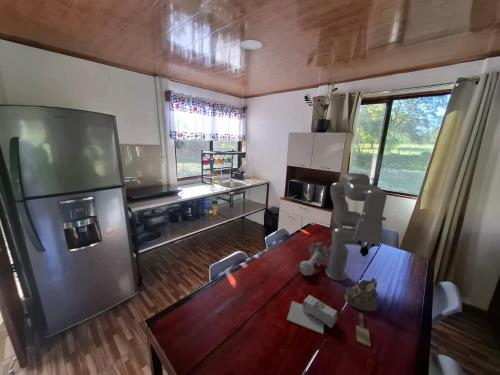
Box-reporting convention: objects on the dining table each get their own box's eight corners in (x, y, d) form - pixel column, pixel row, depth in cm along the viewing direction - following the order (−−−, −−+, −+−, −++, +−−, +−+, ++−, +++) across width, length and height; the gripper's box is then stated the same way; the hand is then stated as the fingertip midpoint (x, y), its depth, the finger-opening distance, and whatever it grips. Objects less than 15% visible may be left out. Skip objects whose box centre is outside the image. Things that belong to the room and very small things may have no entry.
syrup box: (335, 321, 94) (306, 304, 103) (338, 310, 93) (308, 294, 102) (331, 329, 90) (301, 310, 99) (333, 318, 89) (303, 300, 98)
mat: (292, 302, 105) (292, 301, 105) (324, 313, 99) (325, 312, 99) (286, 320, 94) (286, 319, 94) (322, 334, 88) (323, 333, 88)
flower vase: (310, 287, 126) (327, 262, 142) (316, 268, 116) (333, 243, 132) (292, 274, 133) (310, 252, 149) (296, 255, 123) (315, 234, 139)
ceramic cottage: (376, 294, 113) (379, 271, 109) (378, 317, 99) (382, 291, 96) (345, 285, 120) (347, 263, 117) (343, 305, 106) (345, 280, 103)
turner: (354, 313, 100) (355, 311, 100) (366, 317, 98) (366, 315, 98) (357, 342, 86) (357, 339, 85) (370, 347, 84) (371, 345, 84)
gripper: (389, 218, 89) (380, 255, 93) (352, 211, 95) (345, 247, 99) (393, 224, 82) (383, 264, 87) (352, 217, 88) (345, 254, 92)
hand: (363, 254), depth 93 cm, fingers closed
